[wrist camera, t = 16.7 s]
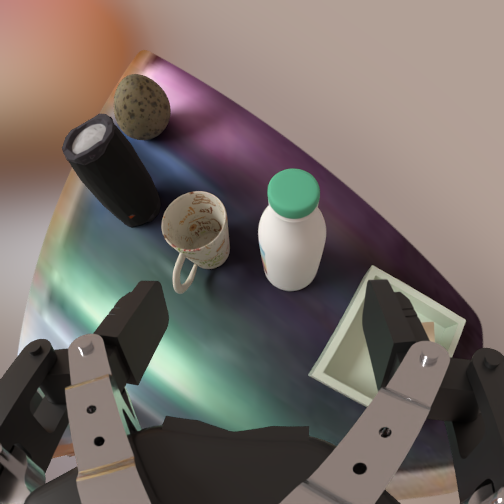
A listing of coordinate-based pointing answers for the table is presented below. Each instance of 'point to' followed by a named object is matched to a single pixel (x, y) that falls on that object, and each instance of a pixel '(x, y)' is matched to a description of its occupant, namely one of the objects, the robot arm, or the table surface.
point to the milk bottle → (292, 230)
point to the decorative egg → (141, 107)
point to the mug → (196, 233)
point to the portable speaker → (112, 170)
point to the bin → (355, 347)
